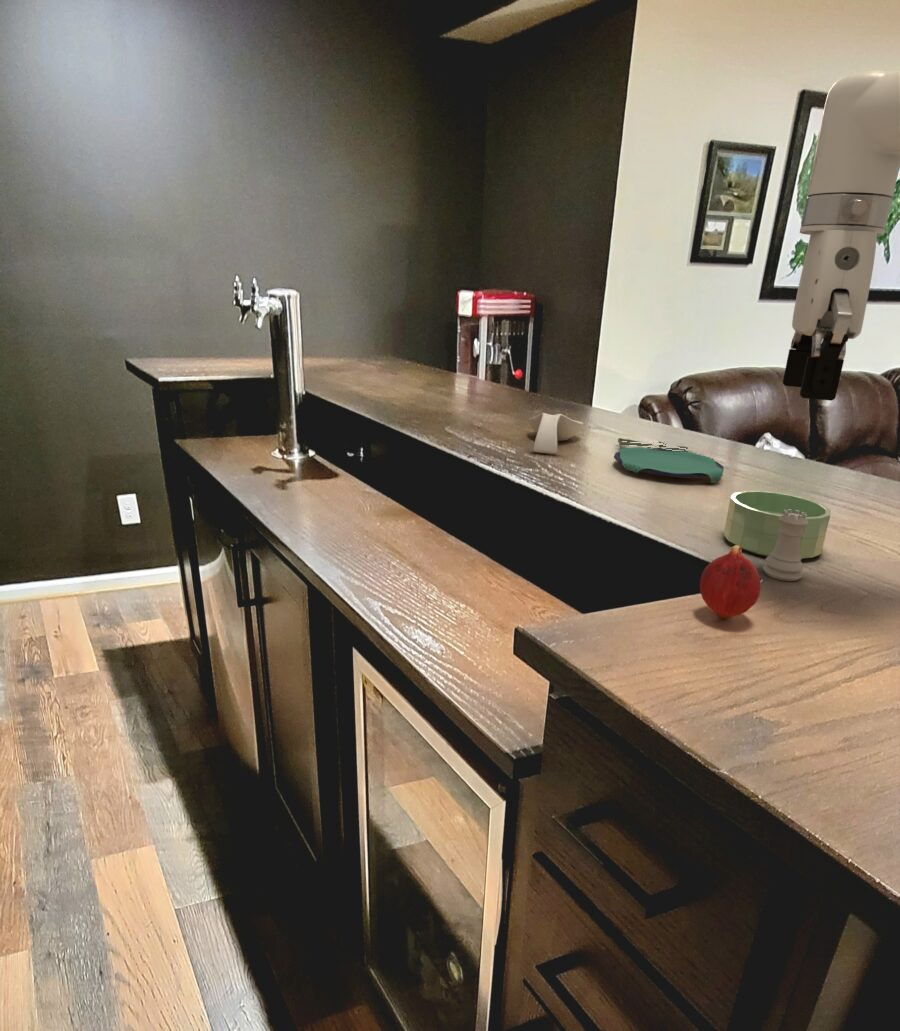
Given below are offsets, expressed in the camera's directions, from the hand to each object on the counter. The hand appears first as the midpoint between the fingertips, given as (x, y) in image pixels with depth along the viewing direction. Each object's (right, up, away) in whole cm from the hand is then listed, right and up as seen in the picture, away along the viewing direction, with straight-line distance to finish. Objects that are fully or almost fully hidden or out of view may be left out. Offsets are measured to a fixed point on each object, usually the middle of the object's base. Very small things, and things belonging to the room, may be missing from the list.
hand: (806, 392), depth 76 cm
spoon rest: (-16, +2, +76) cm, 78 cm away
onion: (-9, -24, -1) cm, 26 cm away
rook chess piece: (+3, -20, +11) cm, 24 cm away
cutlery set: (+4, -3, +64) cm, 64 cm away
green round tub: (+6, -17, +21) cm, 28 cm away
